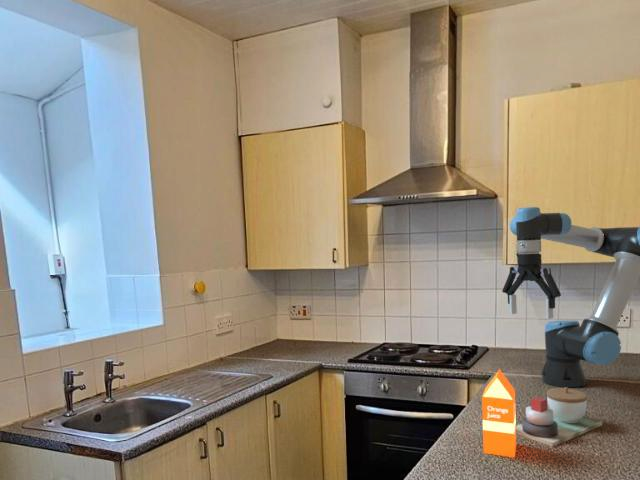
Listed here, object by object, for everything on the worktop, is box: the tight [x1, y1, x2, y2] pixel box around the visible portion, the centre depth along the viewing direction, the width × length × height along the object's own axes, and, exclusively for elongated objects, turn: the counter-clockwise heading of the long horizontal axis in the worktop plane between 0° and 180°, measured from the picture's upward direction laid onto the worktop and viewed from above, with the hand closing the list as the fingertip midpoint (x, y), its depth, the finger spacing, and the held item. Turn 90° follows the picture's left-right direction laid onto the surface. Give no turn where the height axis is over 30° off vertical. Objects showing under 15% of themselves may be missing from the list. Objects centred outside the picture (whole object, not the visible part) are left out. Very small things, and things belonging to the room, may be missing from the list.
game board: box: [516, 415, 603, 448], centre depth 141 cm, size 25×13×4 cm, turn 123°
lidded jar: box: [545, 387, 588, 423], centre depth 145 cm, size 11×11×9 cm
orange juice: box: [481, 368, 517, 458], centre depth 129 cm, size 8×9×20 cm
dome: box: [525, 396, 553, 425], centre depth 137 cm, size 7×7×6 cm
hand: (530, 316), depth 165 cm, fingers open, 13 cm apart
